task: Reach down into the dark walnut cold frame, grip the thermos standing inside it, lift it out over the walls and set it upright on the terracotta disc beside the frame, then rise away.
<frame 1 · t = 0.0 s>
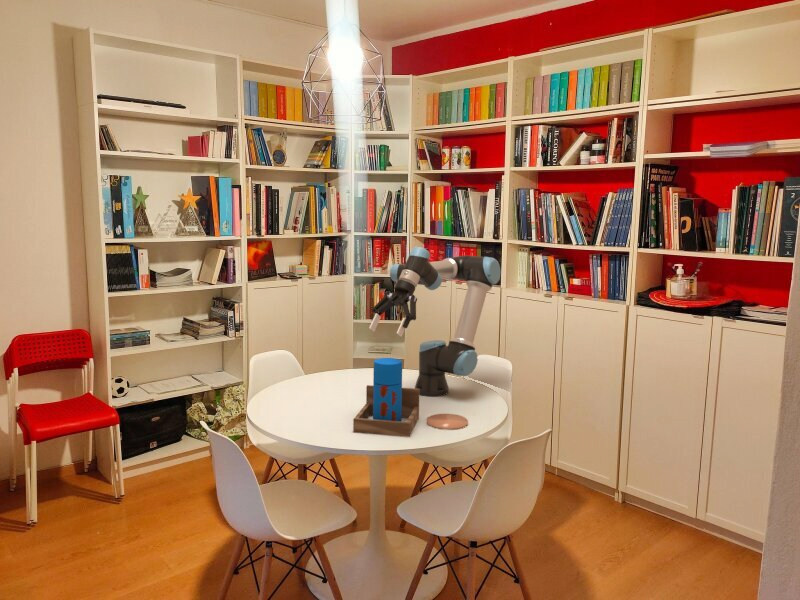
hand: (385, 332, 239), 36 cm above the table, tool tilted 35°, fingers open, 13 cm apart
cold frame: (387, 425, 245), on the table
thermos: (387, 425, 245), resting in cold frame
terracotta disc: (447, 422, 248), on the table
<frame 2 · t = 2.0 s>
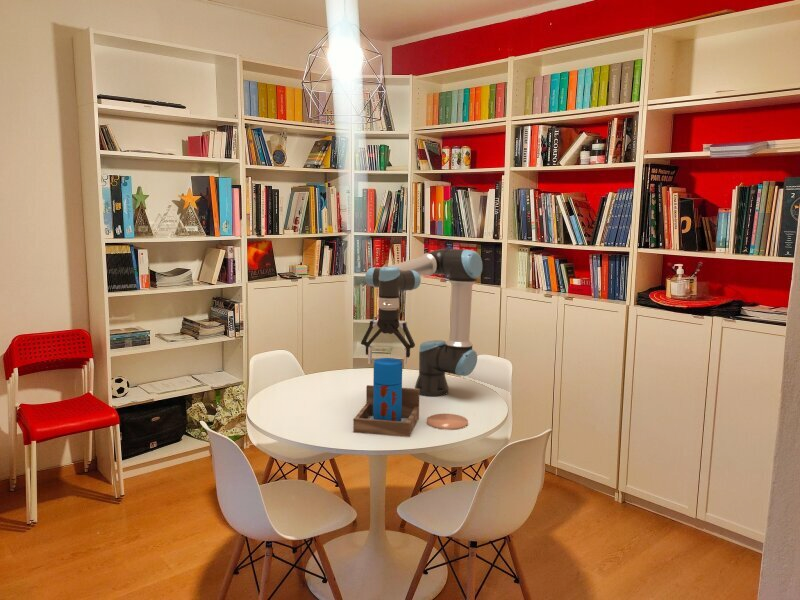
hand: (387, 364, 241), 24 cm above the table, tool pointing down, fingers open, 13 cm apart
nothing on the table moved.
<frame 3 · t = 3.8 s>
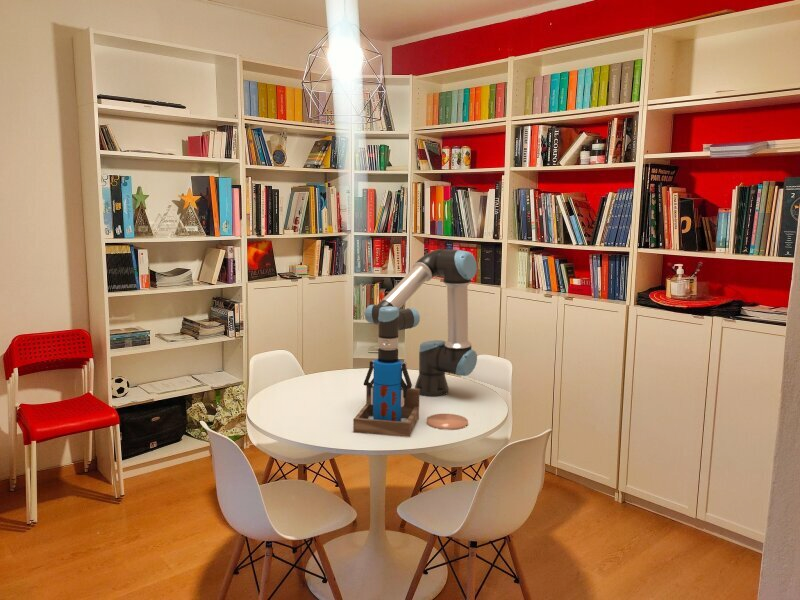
hand: (387, 404, 244), 8 cm above the table, tool pointing down, fingers closed on thermos, 11 cm apart
thermos: (387, 425, 245), resting in cold frame, touching gripper
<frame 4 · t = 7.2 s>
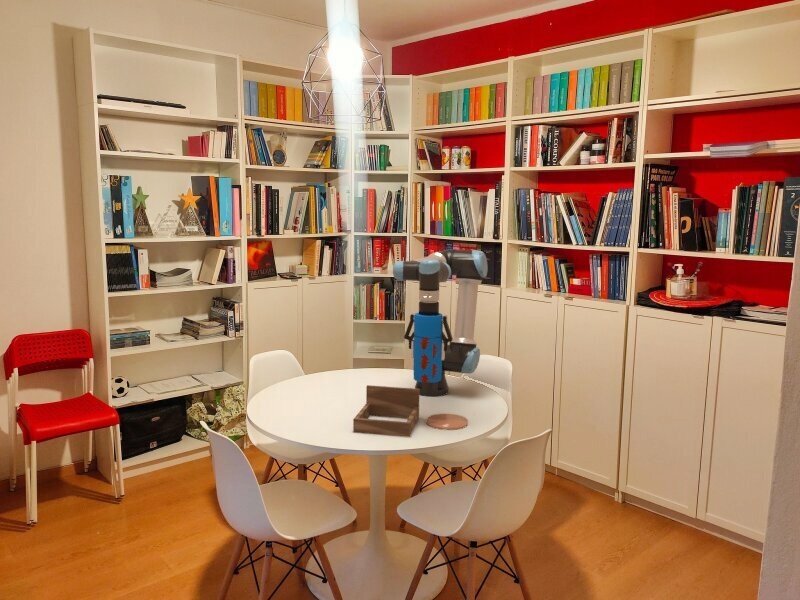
hand: (427, 358, 244), 26 cm above the table, tool pointing down, fingers closed on thermos, 11 cm apart
thermos: (427, 379, 245), point 17 cm above the table, touching gripper
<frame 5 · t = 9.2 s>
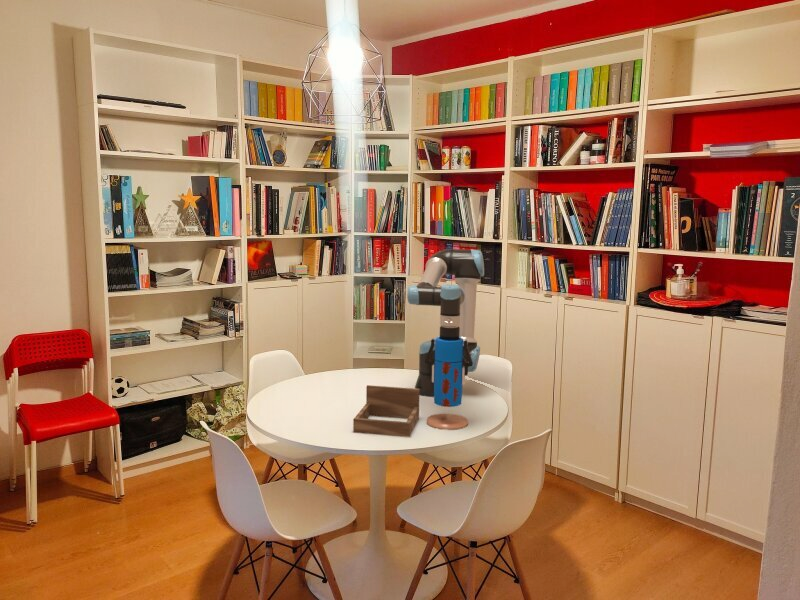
hand: (448, 382, 246), 16 cm above the table, tool pointing down, fingers closed on thermos, 11 cm apart
thermos: (447, 403, 247), point 8 cm above the table, touching gripper
when the fingers open (10 cm above the table, at t = 10.9 s): thermos drops 1 cm, resting on terracotta disc.
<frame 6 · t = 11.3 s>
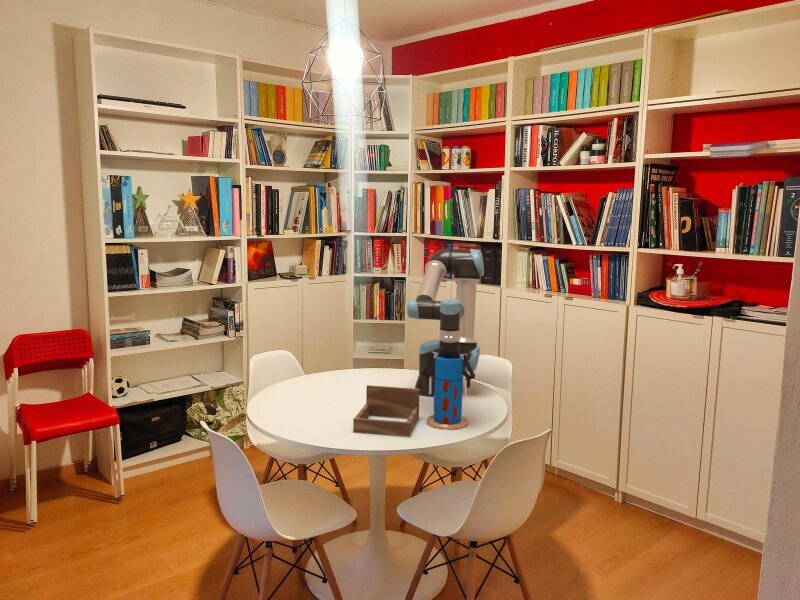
hand: (447, 394, 247), 11 cm above the table, tool pointing down, fingers open, 13 cm apart
thermos: (447, 420, 248), point 1 cm above the table, touching terracotta disc
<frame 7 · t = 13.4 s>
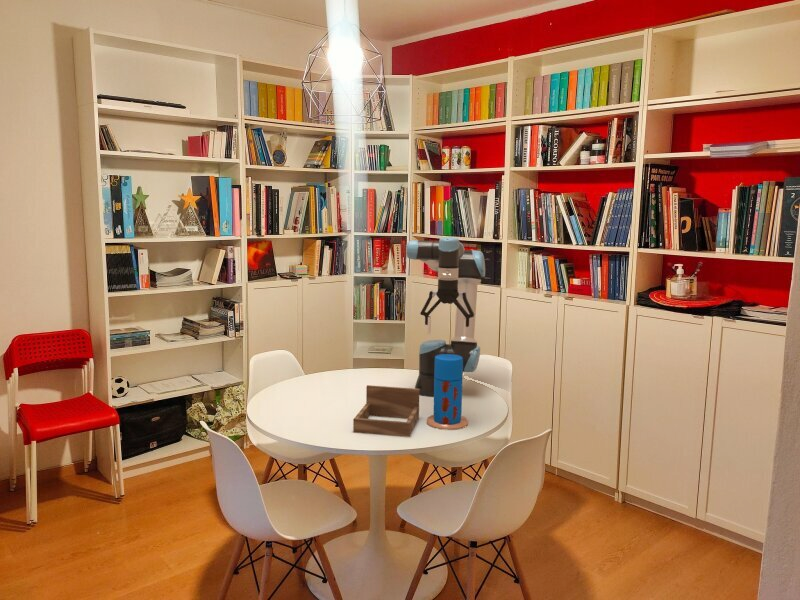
hand: (446, 334, 245), 35 cm above the table, tool pointing down, fingers open, 13 cm apart
nothing on the table moved.
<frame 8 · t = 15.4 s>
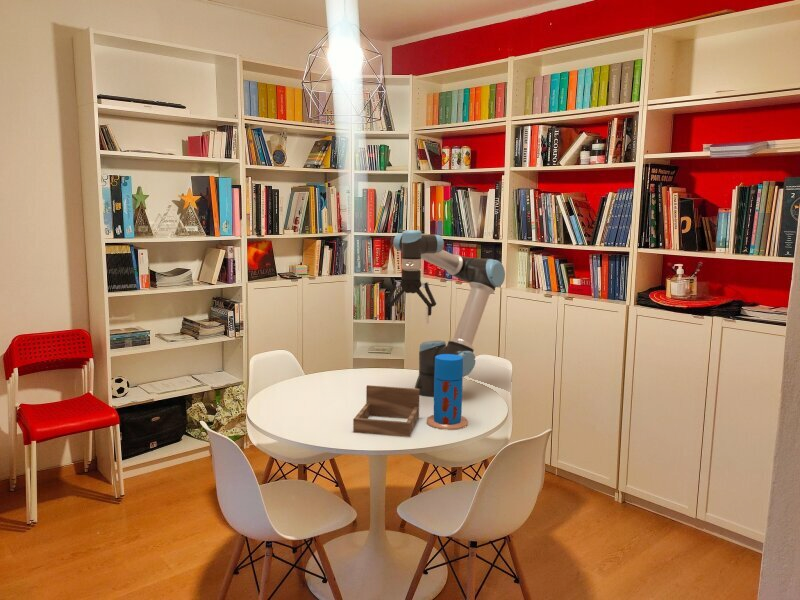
hand: (410, 322, 256), 37 cm above the table, tool pointing down, fingers open, 13 cm apart
nothing on the table moved.
at the end: thermos inside the target area on the terracotta disc (0.0 cm from its centre), point 0.8 cm above the terracotta disc's base; thermos tilted 0°; the gripper is holding nothing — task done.
